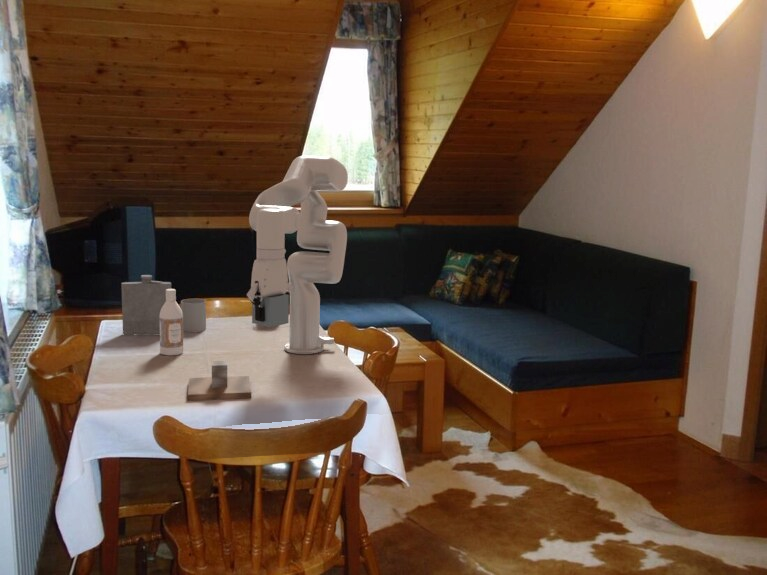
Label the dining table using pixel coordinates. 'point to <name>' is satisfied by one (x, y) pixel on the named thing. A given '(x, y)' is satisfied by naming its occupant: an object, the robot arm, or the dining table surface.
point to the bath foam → (171, 326)
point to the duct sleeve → (274, 311)
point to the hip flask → (143, 305)
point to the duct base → (219, 393)
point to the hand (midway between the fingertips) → (270, 318)
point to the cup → (194, 315)
